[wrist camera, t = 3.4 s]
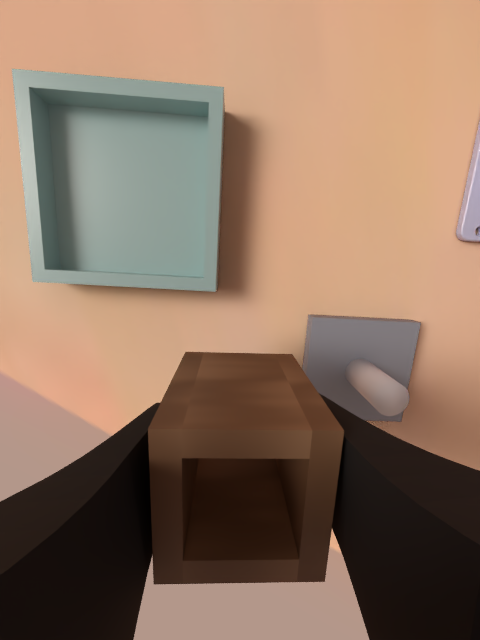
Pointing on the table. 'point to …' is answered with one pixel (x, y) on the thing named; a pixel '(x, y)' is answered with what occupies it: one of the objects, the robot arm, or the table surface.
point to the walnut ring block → (242, 472)
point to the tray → (121, 179)
